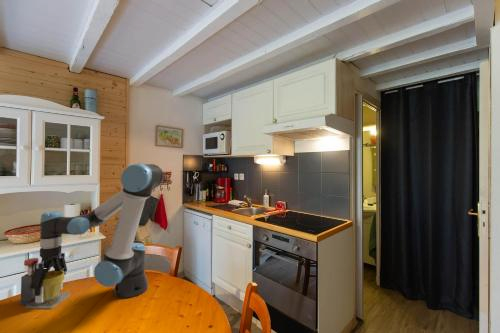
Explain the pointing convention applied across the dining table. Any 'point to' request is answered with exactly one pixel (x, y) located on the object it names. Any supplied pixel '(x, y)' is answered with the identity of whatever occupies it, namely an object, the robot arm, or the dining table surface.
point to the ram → (31, 265)
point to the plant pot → (52, 284)
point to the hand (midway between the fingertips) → (49, 295)
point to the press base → (29, 296)
